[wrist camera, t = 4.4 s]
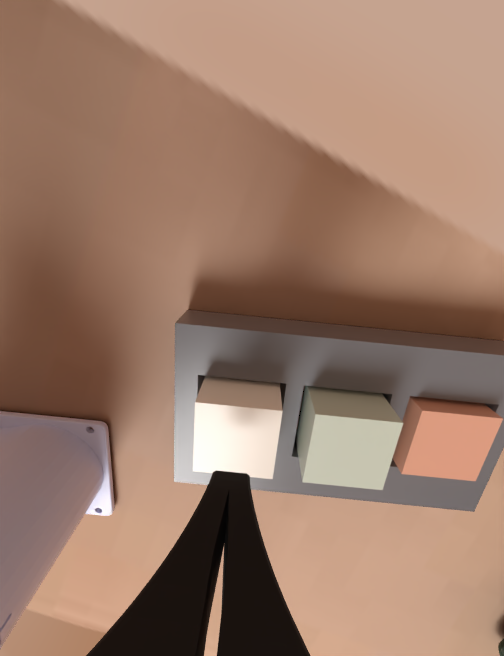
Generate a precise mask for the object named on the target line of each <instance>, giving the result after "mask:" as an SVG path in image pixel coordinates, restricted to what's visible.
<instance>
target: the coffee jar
mask: <svg viewBox="0 0 504 656" xmlns="http://www.w3.org/2000/svg"><path fill="white" fill-rule="evenodd" d="M499 654H500V656H504V639H503V640H502V641H501V642H500V643H499Z"/></svg>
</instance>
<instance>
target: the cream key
mask: <svg viewBox="0 0 504 656" xmlns="http://www.w3.org/2000/svg"><path fill="white" fill-rule="evenodd" d="M282 412H283V409H282V401H281V392H280V383H275V382H264V381H254V380H244V379H234V378H224V377H214V376H205V378H204V381H203V383H202V386H201V388H200V391H199V393H198V396H197V398H196V401H195V417H194V447H193V471H195V472H205V473H213V472H214V471H216V470H217V471H227V472H237V473H247V474H248V475H249V476H250V477H255V478H265V479H273V473H274V466H275V459H276V453H277V446H278V439H279V432H280V426H281V419H282Z"/></svg>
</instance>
